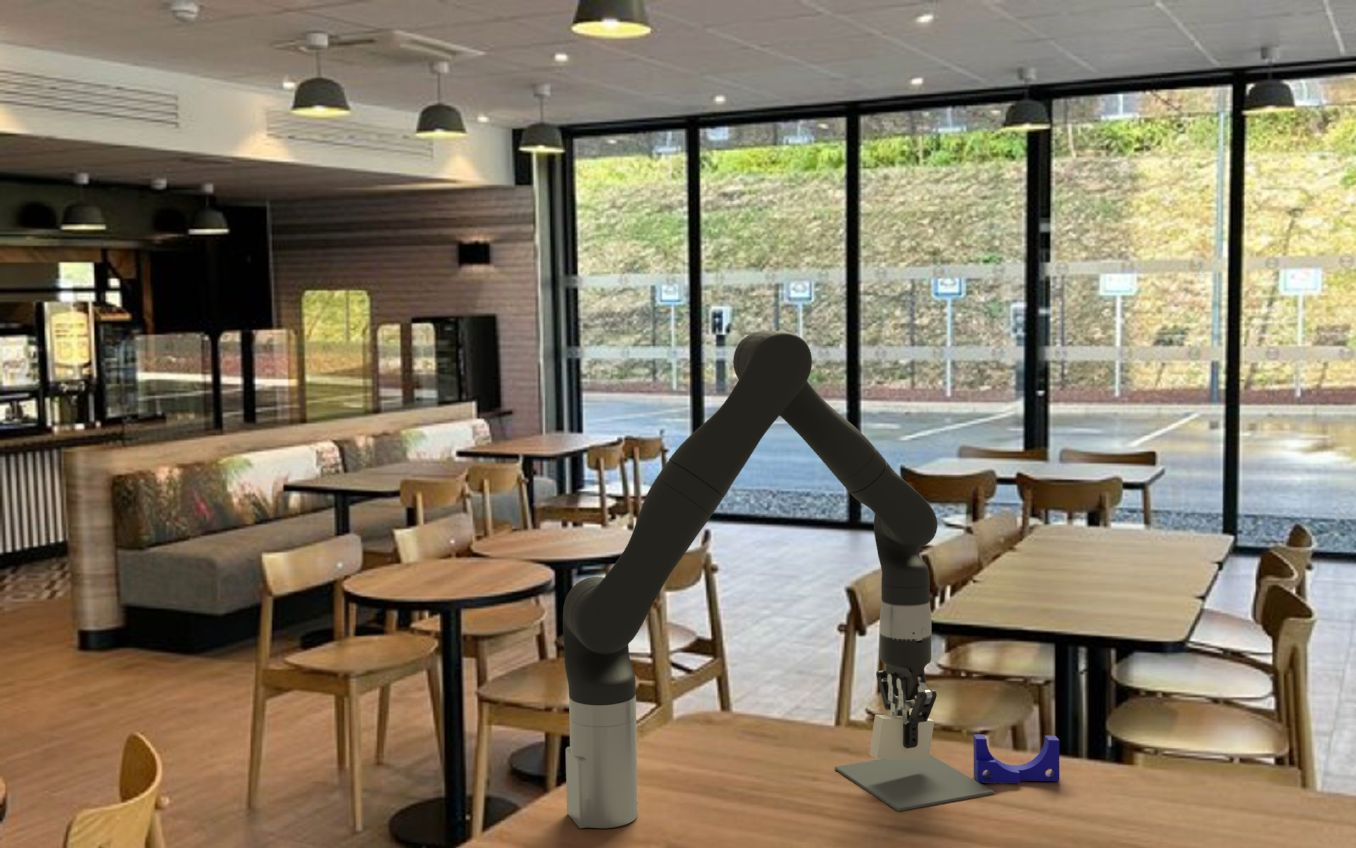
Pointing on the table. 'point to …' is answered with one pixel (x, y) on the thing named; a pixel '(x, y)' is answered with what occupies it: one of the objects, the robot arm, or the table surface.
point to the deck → (899, 739)
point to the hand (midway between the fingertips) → (905, 744)
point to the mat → (913, 782)
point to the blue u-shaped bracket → (1016, 773)
